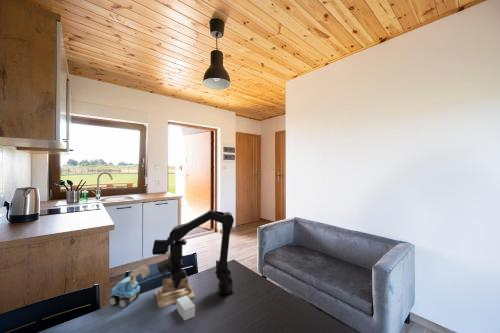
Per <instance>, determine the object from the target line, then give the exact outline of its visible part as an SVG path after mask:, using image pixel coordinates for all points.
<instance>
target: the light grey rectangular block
mask: <svg viewBox="0 0 500 333" xmlns="http://www.w3.org/2000/svg"><path fill="white" fill-rule="evenodd" d="M176 310H177V312H178V314H179V315H180V317H181V318H182V319H183V321H187V320H189V319H191V318H193V317H195V316H196V305H195V304H194V303H193V301H192V299H189V298H188V297H187V295H186V296H184V297H181V298H178V299H177V303H176Z"/></svg>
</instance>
